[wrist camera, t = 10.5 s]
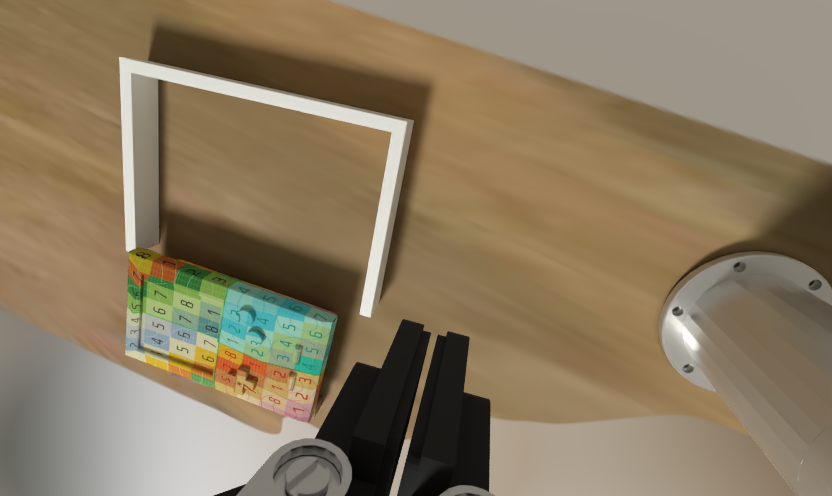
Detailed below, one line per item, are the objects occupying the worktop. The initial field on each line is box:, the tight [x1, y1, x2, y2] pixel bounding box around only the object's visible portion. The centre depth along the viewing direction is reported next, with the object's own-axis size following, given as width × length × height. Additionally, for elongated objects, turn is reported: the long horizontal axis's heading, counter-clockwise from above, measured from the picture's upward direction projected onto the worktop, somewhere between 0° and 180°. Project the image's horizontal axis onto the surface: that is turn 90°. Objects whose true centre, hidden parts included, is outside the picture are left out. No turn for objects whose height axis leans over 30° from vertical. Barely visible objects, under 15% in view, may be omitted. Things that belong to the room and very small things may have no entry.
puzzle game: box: [125, 248, 338, 422], centre depth 42 cm, size 12×5×20 cm
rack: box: [119, 57, 414, 317], centre depth 38 cm, size 24×17×3 cm
